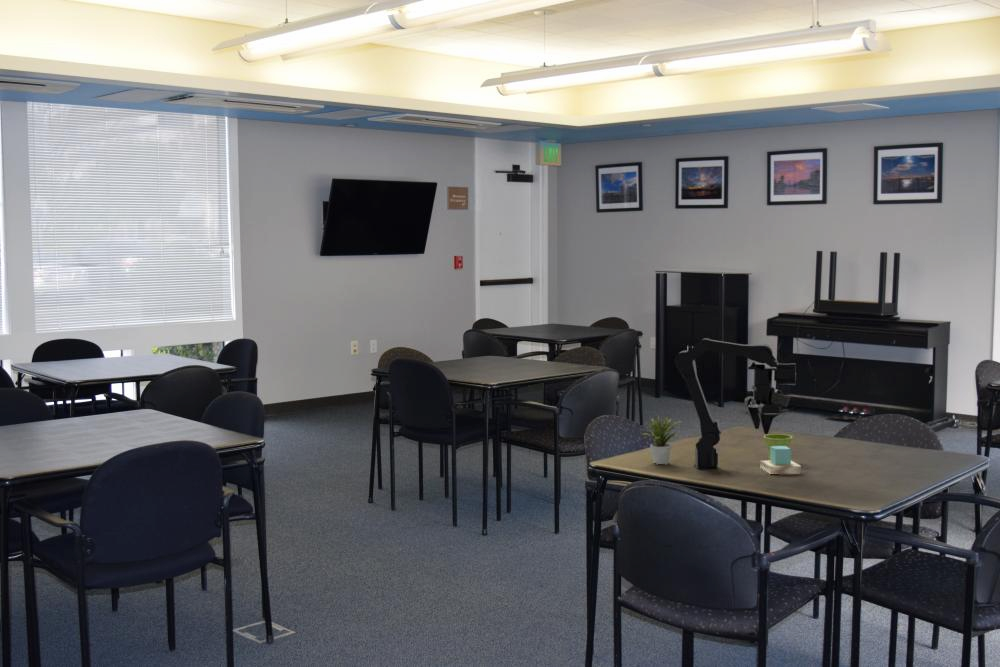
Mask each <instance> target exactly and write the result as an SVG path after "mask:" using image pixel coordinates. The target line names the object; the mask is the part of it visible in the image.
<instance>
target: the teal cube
mask: <svg viewBox="0 0 1000 667" xmlns="http://www.w3.org/2000/svg"><path fill="white" fill-rule="evenodd" d="M791 449H792V448H790V447H789V448H788V447H786V446H770V462H772V463H773V464H775V465H787V464H791V460H792V450H791Z"/></svg>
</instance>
